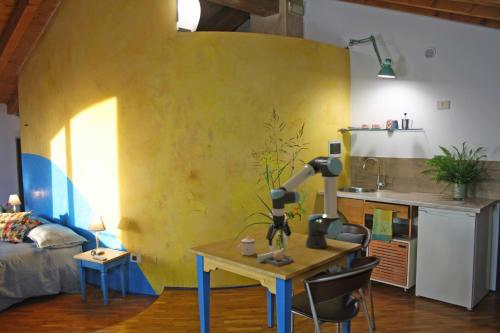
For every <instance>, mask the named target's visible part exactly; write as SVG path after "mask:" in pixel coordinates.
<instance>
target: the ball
mask: <svg viewBox="0 0 500 333" xmlns="http://www.w3.org/2000/svg"><path fill="white" fill-rule="evenodd" d="M275 251H276V252H275V253H274V259H275V260H276V261H281V260H283V258H284V254H283V253H282V252H281V251H278V250H275Z"/></svg>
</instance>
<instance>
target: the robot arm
mask: <svg viewBox="0 0 500 333" xmlns="http://www.w3.org/2000/svg"><path fill="white" fill-rule="evenodd" d="M342 172H343V162H342V161H341V159H340V158H339V157H336V156H325V155H323V156H322V155H320V156H317V157H314V158H313V159H311V160H310V161H308V162H307V163H306V164H304V167H303V168H302V169H301V170H299V171H298V172H297V173H295V175H293V176H292V177H290V178H289V179H287V181H286V182H285V183H283V184H282V185H280V186H279V187H278V188H273V189H271V190H270V193H269V198H270V199H271V202H272V203H271V204H272V206H271V207H272V222H273V223H269V227H268V231H267V234H266V237H265V240H268V245H269V251H271V252H274V237H275V235H276V233H277V232H278V231H279V230H282V232H283V233H284V246H286V247H290V245H289V244H290V243H289V241H290V237H291V235H292V230H291V229H290V225H289V222H288V220H286V219H285V217H286V216H285V214H286V213H285V212H286V210H285V205H291V204H296V203H299V202H300V201H301V195H300V192H298V191H297V190H296V189H297V188H299V187H300V186H301V185H302V184H303V183H304V182H306V181H307V180H308V179H309V178H311V177H314V176H315V175H316V174H321V178H322V179H323V213H316V214H310V215H308V220H307V224H308V225H307V226H308V228H307V229H308V230H307V231H308V233H307V238H306V241H305V247H306V248H308V249H316V250H321V249H322V250H323V249H326V248H328V242H327V238H326V235H327V236H329V237H333V238H334V237H335V238H336V237H338V236H339V235H340V234H341V233H342V231H343V228H344V226H343V222H342V221H341V220H340V216H339V214H338V200H337V199H338V198H337V197H338V182H337V180H338V178H339V177H340V175H341V173H342Z"/></svg>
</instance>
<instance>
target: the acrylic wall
mask: <svg viewBox="0 0 500 333" xmlns="http://www.w3.org/2000/svg"><path fill="white" fill-rule="evenodd" d="M285 249H286V248H282V247H281V248H280V249H279V250H275V251H271V252H267V253H263V254H257V256H256V258H257V263H263V262H264V259H267V258H271V257H274V253H275V252H276V251H281V252H282V253H283V254H284V256H285V257H286V255H285V254H286V252H285V251H286V250H285Z"/></svg>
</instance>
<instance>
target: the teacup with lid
mask: <svg viewBox="0 0 500 333" xmlns="http://www.w3.org/2000/svg"><path fill="white" fill-rule="evenodd" d="M255 240H256V239H253V238H251V237H250V236H249V235H247V236H246V238H244V239H241V243H240V244H238V246H237V249H238V251H239V252H241V254H242V255H243V256H253V255H255V249H256V246H255V245H256V244H255V242H256V241H255ZM240 247H241V249H240Z"/></svg>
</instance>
